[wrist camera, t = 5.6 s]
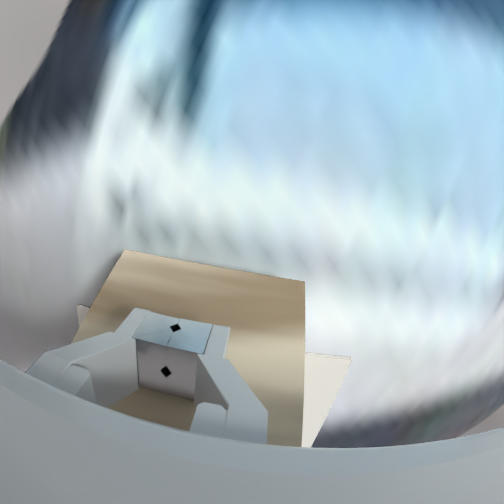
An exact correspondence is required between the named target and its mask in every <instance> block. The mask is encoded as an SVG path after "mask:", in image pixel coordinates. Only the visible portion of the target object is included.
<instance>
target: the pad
mask: <svg viewBox="0 0 504 504" xmlns="http://www.w3.org/2000/svg"><path fill="white" fill-rule="evenodd" d="M76 309H77V317H78V324H79V327H80V325H81V323H82V321H83V320H84V318H85V316H86V314H87V312H88V310H89V309H90V308H89V307H85V306H82V305H78V306H77V307H76ZM351 362H352V358H351V357H346V356H336V355H326V354H317V353H309V352H305V375H304V406H303V429H302V447H311V445H312V443H313V442H314V440H315V438H316V436H317V434H318V432H319V430H320V428H321V426H322V424H323V422H324V420H325V418H326V416H327V414H328V412H329V410H330V408H331V406H332V404H333V402H334V400H335V398H336V396H337V393H338V391H339V389H340V387H341V385H342V382H343V380H344V378H345V376H346V373H347V371H348V369H349V366H350V364H351Z"/></svg>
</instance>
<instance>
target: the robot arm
mask: <svg viewBox="0 0 504 504" xmlns="http://www.w3.org/2000/svg"><path fill="white" fill-rule="evenodd" d="M230 329H231V328H230V327H229V326H222V325H215V324H214V325H213V324H209V323H203V322H197V321H192V320H186V319H182V318H179V317H174V316H170V315H166V314H162V313H158V312H154V311H150V310H146V309H141V308H134V309H133V310H132V311H131V313H130V314H129V315H128V316H127V317H126V319H125V320H124V321H123V322H122V324H121V325H120V326H119V327H118V328H117V330H116V331H115V332H114V333H113V332H107V333H104V334H101V335H98V336H95V337H91V338H88V339H85V340H82V341H79V342H75V343H72V344H69V345H66V346H62V347H59V348H56V349H52V350H49V351H46V352H44V353H43V354H42V355H41V356H40V358H39V359H38V360H37V361H36V362H35V363H34V364H33V365H32V366H31V367H30V368H29V369H28V370H27V371H26V372H23V371H21V370H19V369H17V368H15V367H13V366H11V365H10V364H8V363H6V362H4V361H2V360H1V359H0V504H504V427H502V428H499V429H495V430H491V431H487V432H483V433H479V434H474V435H469V436H464V437H459V438H454V439H448V440H442V441H435V442H428V443H420V444H412V445H402V446H389V447H372V448H310V447H292V446H279V445H269V444H267V427H268V411H267V410H266V409H265V407H264V406H263V405H262V403H261V402H260V401H259V400H258V398H257V397H256V396H255V394H254V393H253V392H252V390H251V389H250V388H249V386H248V385H247V384H246V382H245V381H244V380H243V378H242V377H241V376H240V374H239V373H238V372H237V370H236V369H235V368H234V366H233V365H232V364H231V362H230V361H229V360H228V359H226V355H227V349H228V342H229V336H230ZM139 387H140V388H144V389H148V390H152V391H156V392H160V393H165V394H166V393H167V394H169V395H172V396H176V397H180V398H184V399H188V400H192V401H194V404H195V406H196V412H195V415H194V418H193V421H192V425H191V428H190V431H185V430H181V429H177V428H173V427H169V426H165V425H161V424H157V423H154V422H150V421H146V420H143V419H139V418H136V417H133V416H130V415H126V414H123V413H120V412H117V411H114V410H111V409H108V407H110V406H112V405H113V404H115V403H117V402H118V401H120V400H121V399H123V398H125V397H126V396H128V395H130V394H131V393H133V392H134V391H136V390H138V389H139Z"/></svg>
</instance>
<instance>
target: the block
mask: <svg viewBox="0 0 504 504" xmlns="http://www.w3.org/2000/svg"><path fill="white" fill-rule="evenodd" d="M134 308H141V309H146V310H150V311H154V312H158V313H162V314H166V315H170V316H174V317H179V318H182V319H186V320H192V321H197V322H203V323H209V324H213V325H214V324H215V325H222V326H229V327H230V328H231V329H230V336H229V342H228V349H227V355H226V359H228V360H229V361H230V362H231V364H232V365H233V366H234V368H235V369H236V370H237V372H238V373H239V374H240V376H241V377H242V378H243V380H244V381H245V382H246V384H247V385H248V386H249V388H250V389H251V390H252V392H253V393H254V394H255V396H256V397H257V398H258V400H259V401H260V402H261V403H262V405H263V406H264V407H265V409H266V410H267V411H268V427H267V444H269V445H279V446H292V447H302V429H303V406H304V375H305V282H304V281H298V280H292V279H286V278H280V277H274V276H268V275H262V274H256V273H250V272H245V271H239V270H233V269H227V268H222V267H216V266H211V265H205V264H200V263H194V262H189V261H183V260H178V259H172V258H167V257H162V256H156V255H151V254H146V253H141V252H135V251H130V250H124V252H123V253H122V255H121V256H120V258H119V260H118V261H117V263H116V264H115V266H114V268H113V269H112V271H111V273H110V274H109V276H108V278H107V279H106V281H105V283H104V284H103V286H102V288H101V289H100V291H99V293H98V294H97V296H96V298H95V300H94V301H93V303H92V305H91V307H90V309H89V310H88V312H87V314H86V316H85V318H84V320H83V321H82V323H81V325H80V327H79V329H78V331H77V333H76V335H75V336H74V338H73V340H72V342H71V344H72V343H75V342H79V341H82V340H85V339H88V338H91V337H95V336H98V335H101V334H104V333H107V332H113V333H114V332H115V331H116V330H117V328H118V327H119V326H120V325H121V324H122V322H123V321H124V320H125V319H126V317H127V316H128V315H129V314H130V313H131V311H132V310H133V309H134ZM108 409H111V410H114V411H117V412H120V413H123V414H126V415H130V416H133V417H136V418H139V419H143V420H146V421H150V422H154V423H157V424H161V425H165V426H169V427H173V428H177V429H181V430H185V431H190V428H191V425H192V421H193V418H194V415H195V412H196V406H195V404H194V401H192V400H188V399H184V398H180V397H176V396H172V395H169V394H167V393H166V394H165V393H160V392H156V391H152V390H148V389H144V388H140V387H139V389H138V390H136V391H134V392H133V393H131V394H130V395H128V396H126V397H125V398H123V399H121V400H120V401H118V402H117V403H115V404H113V405H112V406H110V407H108Z"/></svg>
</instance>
